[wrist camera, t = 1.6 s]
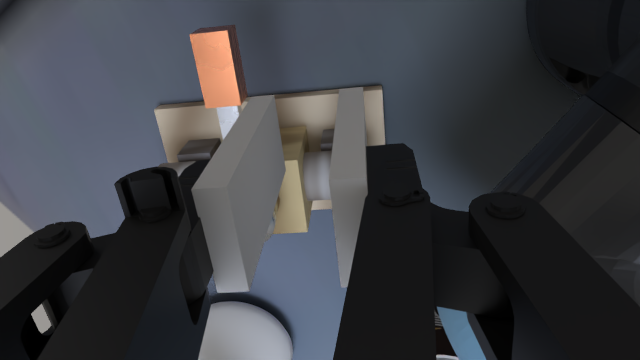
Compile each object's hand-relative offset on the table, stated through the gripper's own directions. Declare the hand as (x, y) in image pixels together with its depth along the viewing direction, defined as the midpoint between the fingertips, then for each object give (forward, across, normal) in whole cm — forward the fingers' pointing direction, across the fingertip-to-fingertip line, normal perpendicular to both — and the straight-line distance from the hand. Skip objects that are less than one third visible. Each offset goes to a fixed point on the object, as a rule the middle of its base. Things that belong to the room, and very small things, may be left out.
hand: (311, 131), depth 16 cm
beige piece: (+22, +6, +10) cm, 25 cm away
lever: (+12, +6, +5) cm, 14 cm away
